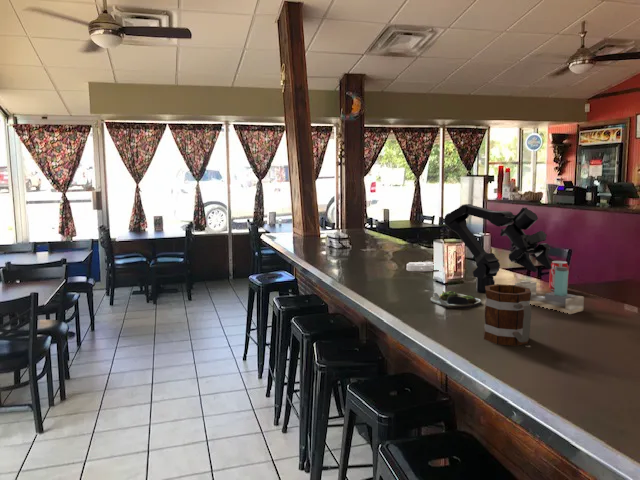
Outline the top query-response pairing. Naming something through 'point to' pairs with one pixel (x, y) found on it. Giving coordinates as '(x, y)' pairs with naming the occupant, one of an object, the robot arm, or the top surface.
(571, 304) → the rail track
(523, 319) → the mug
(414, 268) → the white rectangular slab
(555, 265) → the soda can
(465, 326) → the top surface
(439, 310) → the top surface
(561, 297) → the carriage
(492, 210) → the robot arm
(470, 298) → the salad plate
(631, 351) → the top surface
